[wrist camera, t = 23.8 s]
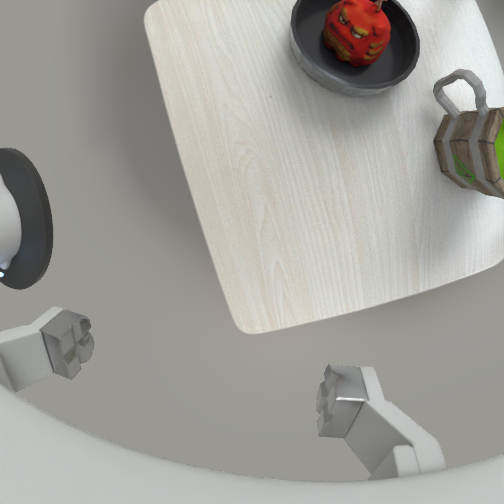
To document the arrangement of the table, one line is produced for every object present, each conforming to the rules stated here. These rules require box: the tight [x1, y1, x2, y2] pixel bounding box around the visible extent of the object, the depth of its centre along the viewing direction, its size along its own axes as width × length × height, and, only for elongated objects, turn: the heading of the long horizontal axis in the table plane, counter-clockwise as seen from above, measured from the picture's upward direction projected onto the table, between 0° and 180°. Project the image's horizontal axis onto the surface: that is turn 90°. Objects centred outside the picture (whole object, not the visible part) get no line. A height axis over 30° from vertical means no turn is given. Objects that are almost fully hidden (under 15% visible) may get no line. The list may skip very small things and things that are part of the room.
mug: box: [433, 69, 504, 199], centre depth 25 cm, size 16×11×12 cm
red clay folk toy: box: [323, 0, 391, 67], centre depth 21 cm, size 8×7×15 cm
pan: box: [290, 0, 420, 97], centre depth 26 cm, size 15×15×5 cm
